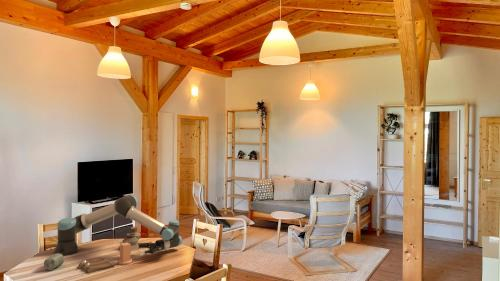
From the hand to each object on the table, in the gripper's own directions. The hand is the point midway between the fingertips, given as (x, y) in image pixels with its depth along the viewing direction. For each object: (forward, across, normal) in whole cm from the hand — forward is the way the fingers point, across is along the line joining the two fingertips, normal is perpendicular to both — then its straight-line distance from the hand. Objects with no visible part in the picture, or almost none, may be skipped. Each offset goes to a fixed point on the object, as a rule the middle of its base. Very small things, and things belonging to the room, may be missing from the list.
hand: (134, 250), depth 244 cm
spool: (+43, +22, -7) cm, 49 cm away
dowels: (+30, +6, -5) cm, 31 cm away
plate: (+23, +6, -7) cm, 25 cm away
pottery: (-15, +32, -7) cm, 36 cm away
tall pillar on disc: (+7, +1, -7) cm, 9 cm away
